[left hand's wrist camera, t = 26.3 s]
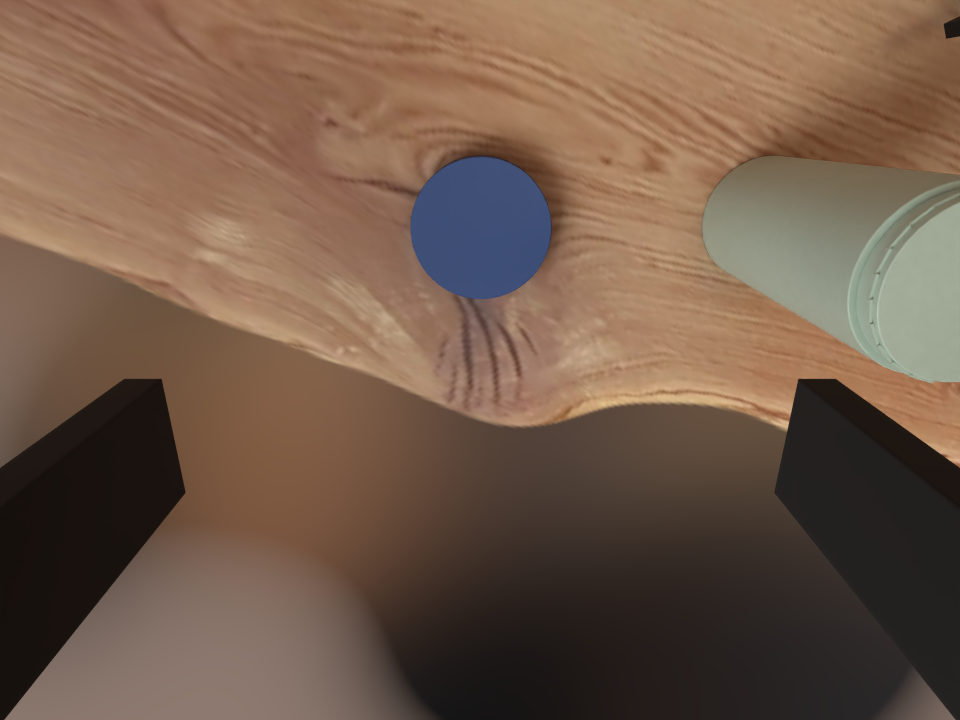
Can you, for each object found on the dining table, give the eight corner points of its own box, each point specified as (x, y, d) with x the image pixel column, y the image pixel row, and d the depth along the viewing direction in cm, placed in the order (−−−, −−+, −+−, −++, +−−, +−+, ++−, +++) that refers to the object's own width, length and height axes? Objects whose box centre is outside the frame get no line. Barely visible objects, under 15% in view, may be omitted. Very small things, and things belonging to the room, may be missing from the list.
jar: (733, 138, 38) (944, 151, 21) (847, 176, 39) (1140, 219, 22) (682, 260, 41) (830, 359, 24) (789, 292, 41) (1007, 411, 24)
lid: (446, 311, 42) (445, 319, 40) (390, 189, 39) (386, 192, 37) (567, 262, 41) (571, 267, 39) (519, 131, 38) (520, 132, 36)
